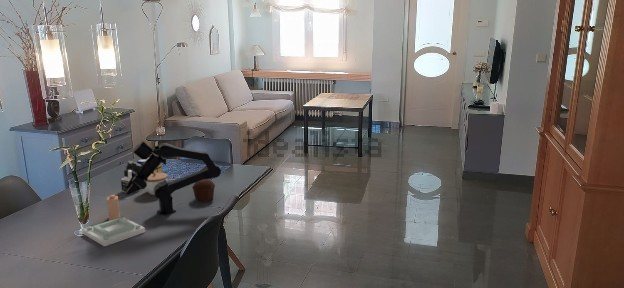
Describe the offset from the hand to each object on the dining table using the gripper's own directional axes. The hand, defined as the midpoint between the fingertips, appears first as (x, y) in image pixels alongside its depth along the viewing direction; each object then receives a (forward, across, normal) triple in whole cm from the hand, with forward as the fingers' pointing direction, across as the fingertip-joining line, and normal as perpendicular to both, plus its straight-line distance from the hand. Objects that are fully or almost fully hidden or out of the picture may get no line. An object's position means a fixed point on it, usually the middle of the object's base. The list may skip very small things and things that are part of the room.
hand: (126, 191), depth 214 cm
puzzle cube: (0, -62, +18) cm, 64 cm away
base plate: (+13, +17, +5) cm, 22 cm away
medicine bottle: (+8, -38, +10) cm, 40 cm away
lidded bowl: (-1, -30, +18) cm, 36 cm away
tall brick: (+13, 0, +4) cm, 14 cm away
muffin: (-17, -12, +35) cm, 40 cm away
